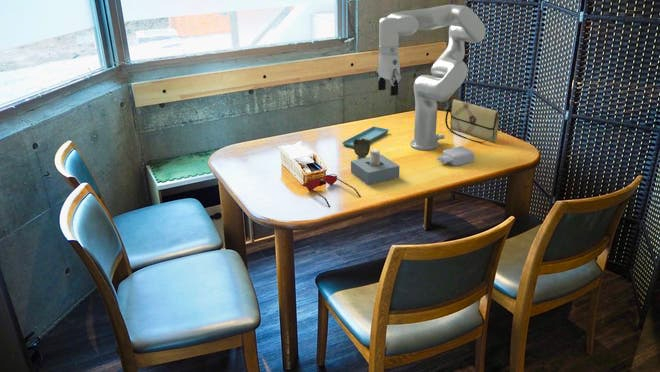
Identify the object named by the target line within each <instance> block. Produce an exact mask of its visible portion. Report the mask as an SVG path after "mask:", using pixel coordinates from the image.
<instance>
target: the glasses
mask: <svg viewBox="0 0 660 372" xmlns="http://www.w3.org/2000/svg"><path fill="white" fill-rule="evenodd" d="M322 178H323V181H324V183H325V185H327V184H328V185H329V186H333V185H334V184H335V183H336V182H337V181H339V182H341V183H342V184H345V185H346V186H347V187H349V188H350V189H351V188H352V189H353V190H354V191H355V192H356V194H357V195H358V197H359V198H362V196H361V194H360V193H359V191H358V190H357V189H356V188H355V187H354V186H352V185H350V184H348V183H346V182H345V181H343V180H342V179H340V178H338V175H337V174H335V173H331V174H326V175H324V176H321V177H316V178H313V179H312V180H311V179H310V180H308V181H307V184H306V185H305V187H306V189H307V190H308V192H311V191H312V192H314V193H316V195H319V196H320V197H322V199H324V201H325V202H326V204H327V206H328V208H331V205H330V203H329V202H328V200H327V198H326V197H325V196H323V195H322V194H320V193H319V192H317V191H316V190H314V189H316V188H317V187H319V186H320V187H321V186H322V184H323V183H322V182H321V179H322Z"/></svg>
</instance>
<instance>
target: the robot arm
mask: <svg viewBox="0 0 660 372" xmlns="http://www.w3.org/2000/svg"><path fill="white" fill-rule="evenodd" d="M378 23H379V28H378V29H379V30H378V31H379V32H378V34H379V36H378V40H379V41H378V63H377V64H378V65H377V67H376V70H375V71H376V76H377V81H378V82H377V85H378V87H377V88H378V89H377V90H378V91H384V90H386V86H387V85H386V83H387V82H386V81H390V84H391V85H390V96H392V97H393V96H398V95H399V86H400V83H401V79H402V75H401V65H400V64H401V63H400V62H401V61H400V55H399V37H400V36H412V35H413V34H415V33H416V32H417V30H418V31H419V30H420V31H432V30H437V29H441V28H444V27H449V28H448V44H447V47H446V48H445V49H444V51H443V52H442V53H441V54H440V56H439V57H438V58H437V59H436V60H435V62H433V65H432V66H431V68H430V73H431V74H421V75H419V76H418V77H416V78H415V80H414V82H413V92H414V102H415V103H414V105H415V107H414V131H413V132H414V133H413V134H414V135H413V139H412V140H411V141H410V144H409V145H410V147H411V148H414V149H416V150H420V151H421V150H422V151H429V150H431V151H432V150H435V149H437V148H438V147H439V146H440V144H439V140H444V139H445V134H439V133H437V122H438V120H437V118H438V102H441V103H444V102H447V101H448V100H449V99H450V98H451V97H453V94H454V93H455V92H456V91H457V90H458V89H459V88H460V86H461V85H462V84H463V82H464V81H465V80H466V77H467V76H468V66H467V64H466V62H464V61H463V59H464V57H465V56H466V55H465V54H466V51H465V42H467V43H473V44H478V43H481V42H482V41H483V40H484V39H485V37H486V33H487V32H486V31H487V30H486V26H485V24H484V23H483V22H482V20H481V19H480V18H479V16H478V15H477V14H476V12H474V11H473V10H472V9H471V8H470V7H469V6H467V5H459V4H445V5H438V6H433V7H430V8H429V7H428V8H419V9H411V10H402V11H397V12H393V13H390V14H389V15H388V16H384V17H382V18H380V19H379V22H378Z"/></svg>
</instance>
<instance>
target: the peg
mask: <svg viewBox="0 0 660 372" xmlns="http://www.w3.org/2000/svg"><path fill="white" fill-rule="evenodd" d="M380 155H381V151H380V150H378V149H371V150H369V157H370V166H371V167H375V166H380Z"/></svg>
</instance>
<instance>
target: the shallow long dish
mask: <svg viewBox="0 0 660 372" xmlns="http://www.w3.org/2000/svg"><path fill="white" fill-rule="evenodd" d="M389 131H390V130H389V129H388V128H384V127H379V126H371V127H369V128H367V129H366V130H364V131H362V132H360V133H358V134H355V135H353V136H352V137H350V138H347V139H345V140H344V141H342V142H341V143H342V145H343V146H344V147H347V148H351V149H354V145H353V142H354V140H355V139H358V140H359V138H360V140H361V139H362V138H363V139H364V138H365V140H367V139H368V140H369V139H370V141H371V142H370V143H372V142H374V141H376V140H378V139H379V138H381V137H383V136H385V135H387V134H388V132H389Z"/></svg>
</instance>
